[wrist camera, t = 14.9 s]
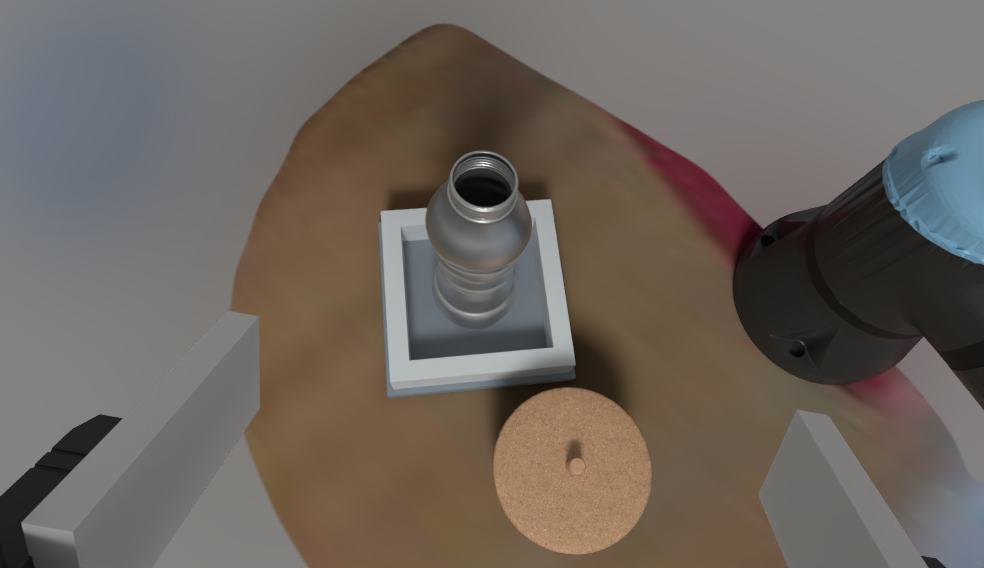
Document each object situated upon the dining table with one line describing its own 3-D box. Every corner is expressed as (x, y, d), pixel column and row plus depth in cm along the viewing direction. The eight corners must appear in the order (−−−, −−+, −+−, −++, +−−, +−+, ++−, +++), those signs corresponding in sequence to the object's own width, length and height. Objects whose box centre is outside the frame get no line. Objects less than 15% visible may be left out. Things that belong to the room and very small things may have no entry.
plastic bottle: (492, 349, 51) (516, 256, 32) (417, 313, 52) (398, 201, 33) (525, 282, 53) (566, 158, 34) (453, 248, 54) (454, 108, 35)
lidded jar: (507, 387, 51) (519, 362, 42) (635, 425, 51) (674, 408, 42) (469, 523, 48) (473, 527, 39) (606, 565, 47) (642, 579, 38)
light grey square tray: (548, 214, 56) (555, 193, 53) (573, 380, 52) (583, 370, 48) (379, 226, 55) (374, 206, 51) (388, 398, 50) (383, 389, 46)
